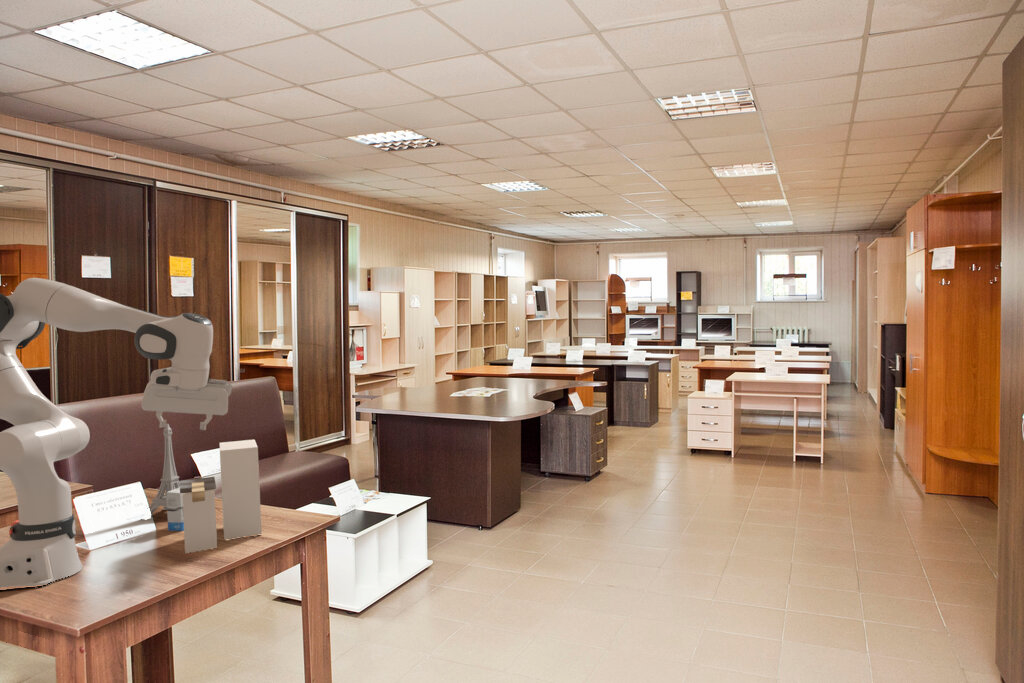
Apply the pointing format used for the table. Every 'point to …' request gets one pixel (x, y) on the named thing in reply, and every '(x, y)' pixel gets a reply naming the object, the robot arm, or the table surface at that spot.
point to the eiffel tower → (166, 474)
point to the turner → (197, 487)
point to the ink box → (175, 510)
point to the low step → (199, 522)
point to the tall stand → (240, 488)
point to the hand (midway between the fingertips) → (182, 428)
